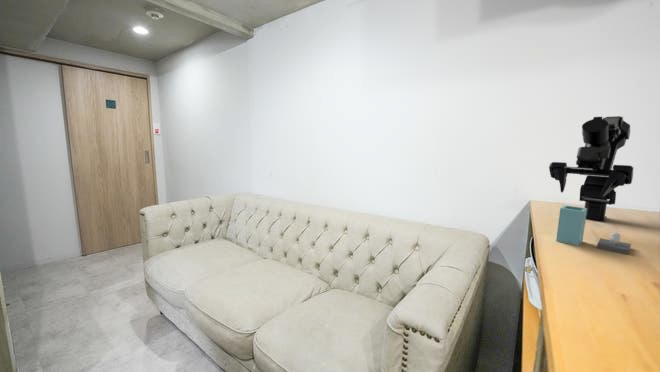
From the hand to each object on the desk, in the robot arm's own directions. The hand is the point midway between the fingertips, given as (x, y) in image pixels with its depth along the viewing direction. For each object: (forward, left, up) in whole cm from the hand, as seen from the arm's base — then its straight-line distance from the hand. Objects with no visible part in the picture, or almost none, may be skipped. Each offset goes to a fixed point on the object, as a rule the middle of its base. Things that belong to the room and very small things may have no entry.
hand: (581, 193), depth 83 cm
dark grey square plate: (+5, +9, -13) cm, 17 cm away
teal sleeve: (+7, 0, -13) cm, 15 cm away
